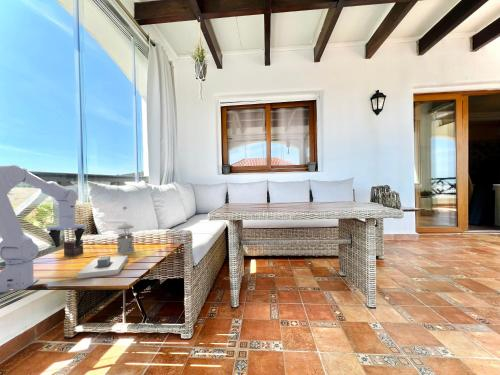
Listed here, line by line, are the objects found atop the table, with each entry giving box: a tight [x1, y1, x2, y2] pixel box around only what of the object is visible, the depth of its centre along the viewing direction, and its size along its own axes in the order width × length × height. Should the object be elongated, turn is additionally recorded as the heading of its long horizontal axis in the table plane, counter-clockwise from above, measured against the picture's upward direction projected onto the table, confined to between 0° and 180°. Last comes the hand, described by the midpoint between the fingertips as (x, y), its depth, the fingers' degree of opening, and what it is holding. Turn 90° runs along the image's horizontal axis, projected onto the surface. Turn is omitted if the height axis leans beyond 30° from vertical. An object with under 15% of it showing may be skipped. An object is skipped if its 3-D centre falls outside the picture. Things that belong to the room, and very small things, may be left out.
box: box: [63, 239, 84, 257], centre depth 125 cm, size 6×6×7 cm
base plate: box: [77, 255, 129, 280], centre depth 103 cm, size 20×14×2 cm
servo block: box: [97, 256, 111, 268], centre depth 101 cm, size 5×4×5 cm
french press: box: [115, 206, 136, 256], centre depth 129 cm, size 10×12×25 cm
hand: (67, 245), depth 106 cm, fingers open, 7 cm apart
